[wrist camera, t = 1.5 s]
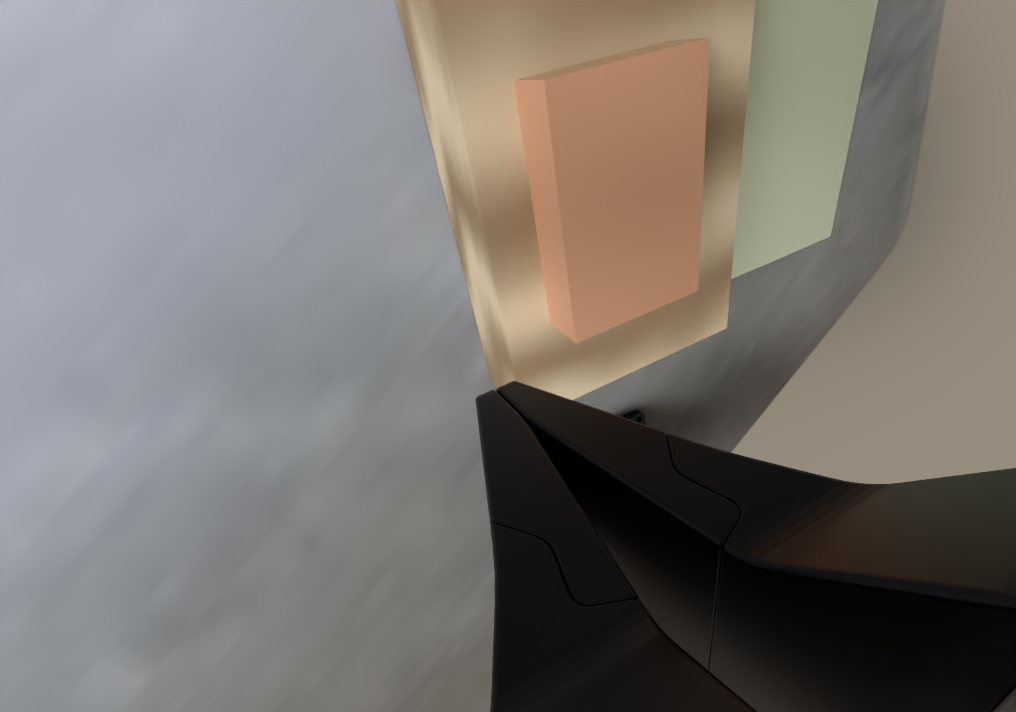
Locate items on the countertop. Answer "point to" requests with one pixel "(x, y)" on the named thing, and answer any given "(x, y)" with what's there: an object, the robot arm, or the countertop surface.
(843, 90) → the mat
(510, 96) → the tan wooden flat block
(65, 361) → the countertop surface
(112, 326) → the countertop surface
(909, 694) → the robot arm
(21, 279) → the countertop surface
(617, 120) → the tile
